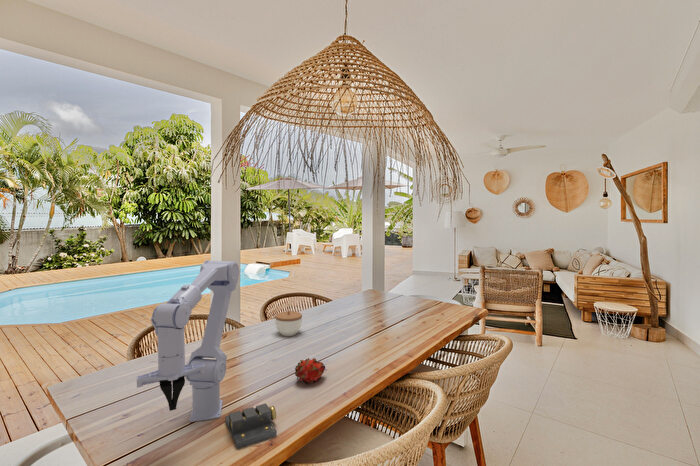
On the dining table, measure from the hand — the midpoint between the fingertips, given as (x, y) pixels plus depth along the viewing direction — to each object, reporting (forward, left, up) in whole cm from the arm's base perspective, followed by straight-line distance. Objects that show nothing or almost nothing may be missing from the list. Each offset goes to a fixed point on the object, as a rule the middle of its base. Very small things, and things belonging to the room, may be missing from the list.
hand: (172, 408), depth 85 cm
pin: (-3, +19, -9) cm, 21 cm away
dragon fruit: (-26, +38, -10) cm, 47 cm away
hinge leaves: (-3, +18, -10) cm, 21 cm away
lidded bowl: (-76, +36, -10) cm, 85 cm away
